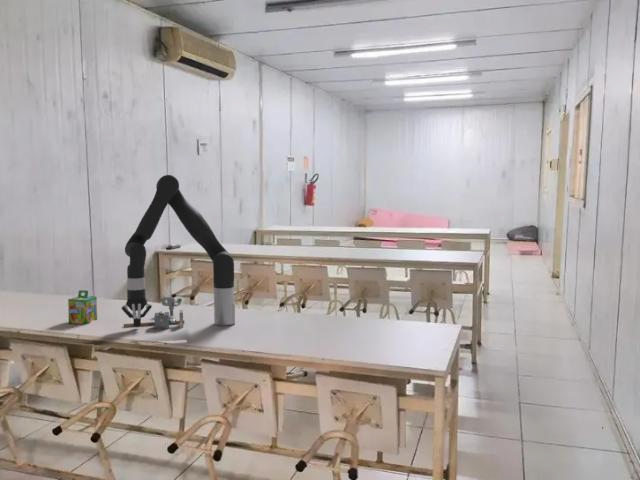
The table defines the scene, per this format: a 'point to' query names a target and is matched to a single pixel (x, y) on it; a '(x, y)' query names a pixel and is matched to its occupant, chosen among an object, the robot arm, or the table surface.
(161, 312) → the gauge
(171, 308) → the mechanical component
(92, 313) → the chalk box
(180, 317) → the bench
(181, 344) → the table surface
